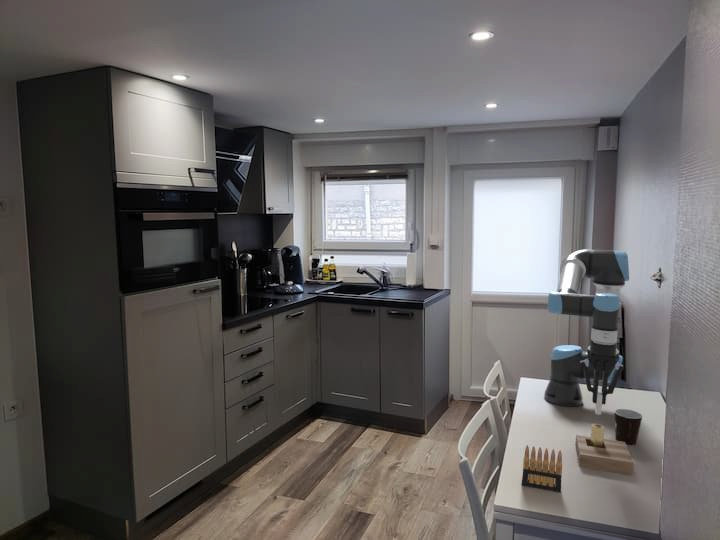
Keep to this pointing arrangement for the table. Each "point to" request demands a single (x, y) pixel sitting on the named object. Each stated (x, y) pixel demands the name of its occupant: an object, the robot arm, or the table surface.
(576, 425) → the table surface
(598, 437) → the tan cylinder
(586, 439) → the block
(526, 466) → the ammunition clip
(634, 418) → the coffee mug
